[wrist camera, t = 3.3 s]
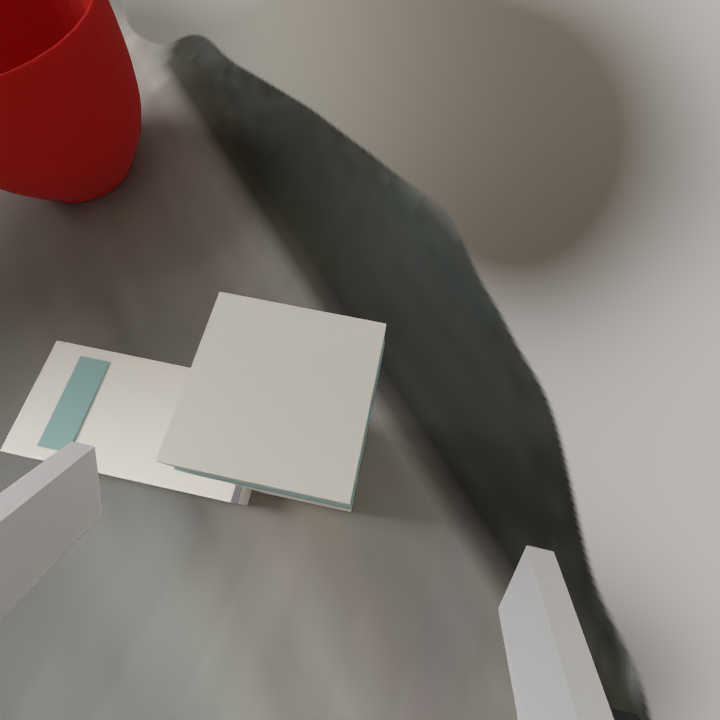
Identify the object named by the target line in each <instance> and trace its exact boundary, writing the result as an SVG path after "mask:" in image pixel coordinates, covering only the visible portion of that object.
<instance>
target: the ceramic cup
mask: <svg viewBox="0 0 720 720" xmlns="http://www.w3.org/2000/svg"><path fill="white" fill-rule="evenodd" d="M140 130H141V102H140V95H139V89H138V85H137V81H136V77H135V73H134V69H133V65H132V62H131V59H130V55H129V52H128V49H127V46H126V43H125V41H124V38H123V35H122V32H121V30H120V27H119V25H118V22H117V19H116V17H115V14H114V12H113V9H112V7H111V5H110V2H109V0H0V189H2V190H5V191H8V192H11V193H15V194H19V195H24V196H28V197H33V198H38V199H46V200H58V201H62V202H83V201H88V200H92V199H95V198H98V197H100V196H103V195H105V194H106V193H108V192H110V191H111V190H113V189H114V188H115V187H117V186H118V185H119V184H120V183H121V182H122V181H123V180H124V178H125V177H126V175H127V174H128V172H129V170H130V167H131V163H132V160H133V157H134V155H135V152H136V148H137V145H138V141H139V137H140Z"/></svg>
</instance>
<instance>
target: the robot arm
mask: <svg viewBox="0 0 720 720" xmlns="http://www.w3.org/2000/svg"><path fill="white" fill-rule="evenodd" d="M102 515H103V510H102V502H101V493H100V485H99V477H98V469H97V460H96V452H95V446H91V445H86V444H82V443H77V442H73V441H71V442H69V443H68V444H67V445H65V446H64V447H63V448H61V449H60V450H58V451H57V452H56V453H54V454H53V455H52V456H50V457H49V458H47V459H46V460H45V461H43V462H42V463H41V464H39V465H38V466H36V467H35V468H34V469H32V470H31V471H30V472H28V473H27V474H25V475H24V476H23V477H21V478H20V479H19V480H17V481H16V482H14V483H13V484H12V485H10V486H9V487H8V488H6V489H5V490H3V491H2V492H1V493H0V620H1V619H2V618H3V617H4V616H5V615H6V614H7V613H8V612H9V611H10V610H11V609H12V608H13V607H14V606H15V604H16V603H17V602H18V601H19V600H20V599H21V598H22V597H23V596H24V595H25V594H26V593H27V592H28V591H29V590H30V589H31V588H32V587H33V586H34V585H35V584H36V583H37V582H38V581H39V580H40V579H41V578H42V577H43V576H44V575H45V574H46V573H47V572H48V570H49V569H50V568H51V567H52V566H53V565H54V564H55V563H56V562H57V561H58V560H59V559H60V558H61V557H62V556H63V555H64V554H65V553H66V552H67V551H68V550H69V549H70V548H71V547H72V546H73V545H74V544H75V543H76V542H77V541H78V540H79V539H80V538H81V537H82V535H83V534H84V533H85V532H86V531H87V530H88V529H89V528H90V527H91V526H92V525H93V524H94V523H95V522H96V521H97V520H98V519H99V518H100V517H101V516H102ZM498 611H499V617H500V622H501V628H502V633H503V639H504V645H505V650H506V656H507V661H508V667H509V672H510V678H511V684H512V689H513V695H514V700H515V706H516V711H517V717H518V720H640V719H639V718H638V716H637V715H636V714H632V713H628V712H624V711H620V710H616V709H612V708H610V707H609V704H608V701H607V698H606V695H605V693H604V690H603V687H602V684H601V682H600V679H599V676H598V673H597V670H596V668H595V665H594V662H593V659H592V657H591V654H590V651H589V648H588V645H587V643H586V640H585V637H584V634H583V632H582V629H581V626H580V623H579V620H578V618H577V615H576V612H575V609H574V607H573V604H572V601H571V598H570V595H569V593H568V590H567V587H566V584H565V582H564V579H563V576H562V573H561V570H560V568H559V565H558V562H557V559H556V557H555V554H554V551H549V550H545V549H540V548H536V547H532V546H526V548H525V550H524V552H523V555H522V557H521V559H520V561H519V563H518V566H517V568H516V570H515V572H514V575H513V577H512V579H511V581H510V584H509V586H508V588H507V590H506V592H505V595H504V597H503V599H502V601H501V604H500V606H499V608H498Z"/></svg>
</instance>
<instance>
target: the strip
mask: <svg viewBox="0 0 720 720" xmlns="http://www.w3.org/2000/svg"><path fill="white" fill-rule="evenodd" d="M189 371H190V368H189V367H184V366H179V365H174V364H169V363H165V362H160V361H155V360H150V359H145V358H140V357H135V356H130V355H126V354H121V353H116V352H111V351H106V350H101V349H96V348H92V347H87V346H82V345H77V344H72V343H67V342H62V341H56V343H55V345H54V347H53V349H52V351H51V353H50V355H49V357H48V359H47V361H46V362H45V364H44V366H43V368H42V370H41V372H40V374H39V376H38V378H37V380H36V382H35V384H34V386H33V388H32V390H31V391H30V393H29V395H28V397H27V399H26V401H25V403H24V405H23V407H22V409H21V411H20V413H19V415H18V417H17V419H16V421H15V422H14V424H13V426H12V428H11V430H10V432H9V434H8V436H7V438H6V440H5V442H4V444H3V446H2V448H1V450H0V451H2V452H7V453H11V454H16V455H20V456H24V457H29V458H33V459H38V460H42V461H45V460H46V459H47V458H49V457H50V456H52V455H53V454H54V453H56V452H57V451H58V450H60V449H61V448H63V447H64V446H65V445H67V444H68V443H69V442H71V441H73V442H77V443H82V444H86V445H91V446H95V452H96V460H97V469H98V473H100V474H105V475H109V476H114V477H118V478H123V479H127V480H132V481H136V482H141V483H145V484H150V485H154V486H159V487H163V488H168V489H172V490H177V491H181V492H185V493H190V494H194V495H199V496H203V497H208V498H212V499H217V500H221V501H226V502H230V503H234V504H241V505H248V502H249V498H250V495H251V491H252V489H249V488H245V487H242V486H238V485H235V484H232V483H228V482H225V481H220V480H216V479H211V478H206V477H202V476H197V475H194V474H190V473H186V472H183V471H179V470H176V469H174V467H173V466H170V465H166V464H163V463H160V462H156V458H157V455H158V453H159V450H160V447H161V445H162V442H163V440H164V437H165V434H166V432H167V429H168V426H169V424H170V421H171V418H172V416H173V413H174V410H175V408H176V405H177V403H178V400H179V397H180V395H181V392H182V389H183V387H184V384H185V381H186V379H187V376H188V374H189Z"/></svg>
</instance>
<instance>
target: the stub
mask: <svg viewBox="0 0 720 720" xmlns="http://www.w3.org/2000/svg"><path fill="white" fill-rule="evenodd" d="M385 329H386V324H385V323H380V322H375V321H369V320H364V319H359V318H354V317H349V316H344V315H339V314H333V313H328V312H323V311H318V310H313V309H308V308H302V307H297V306H292V305H287V304H282V303H277V302H271V301H266V300H261V299H256V298H251V297H246V296H240V295H235V294H230V293H225V292H219V294H218V297H217V300H216V302H215V305H214V307H213V310H212V313H211V315H210V318H209V321H208V323H207V326H206V329H205V331H204V334H203V337H202V339H201V342H200V344H199V347H198V350H197V352H196V355H195V358H194V360H193V363H192V366H191V368H190V371H189V374H188V376H187V379H186V381H185V384H184V387H183V389H182V392H181V395H180V397H179V400H178V403H177V405H176V408H175V410H174V413H173V416H172V418H171V421H170V424H169V426H168V429H167V432H166V434H165V437H164V440H163V442H162V445H161V447H160V450H159V453H158V455H157V458H156V462H160V463H163V464H166V465H170V466H173V467H174V469H176V470H179V471H183V472H186V473H190V474H194V475H197V476H202V477H206V478H211V479H216V480H220V481H225V482H228V483H232V484H235V485H238V486H242V487H245V488H249V489H252V490H256V491H259V492H262V493H266V494H270V495H275V496H279V497H284V498H288V499H293V500H297V501H302V502H306V503H311V504H315V505H320V506H324V507H329V508H333V509H338V510H342V511H347V512H351V511H352V506H353V501H354V496H355V491H356V486H357V481H358V476H359V471H360V466H361V461H362V456H363V451H364V446H365V441H366V436H367V431H368V426H369V421H370V416H371V411H372V406H373V401H374V396H375V391H376V386H377V381H378V376H379V371H380V366H381V361H382V356H383V351H384V345H385V341H384V335H385Z"/></svg>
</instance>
